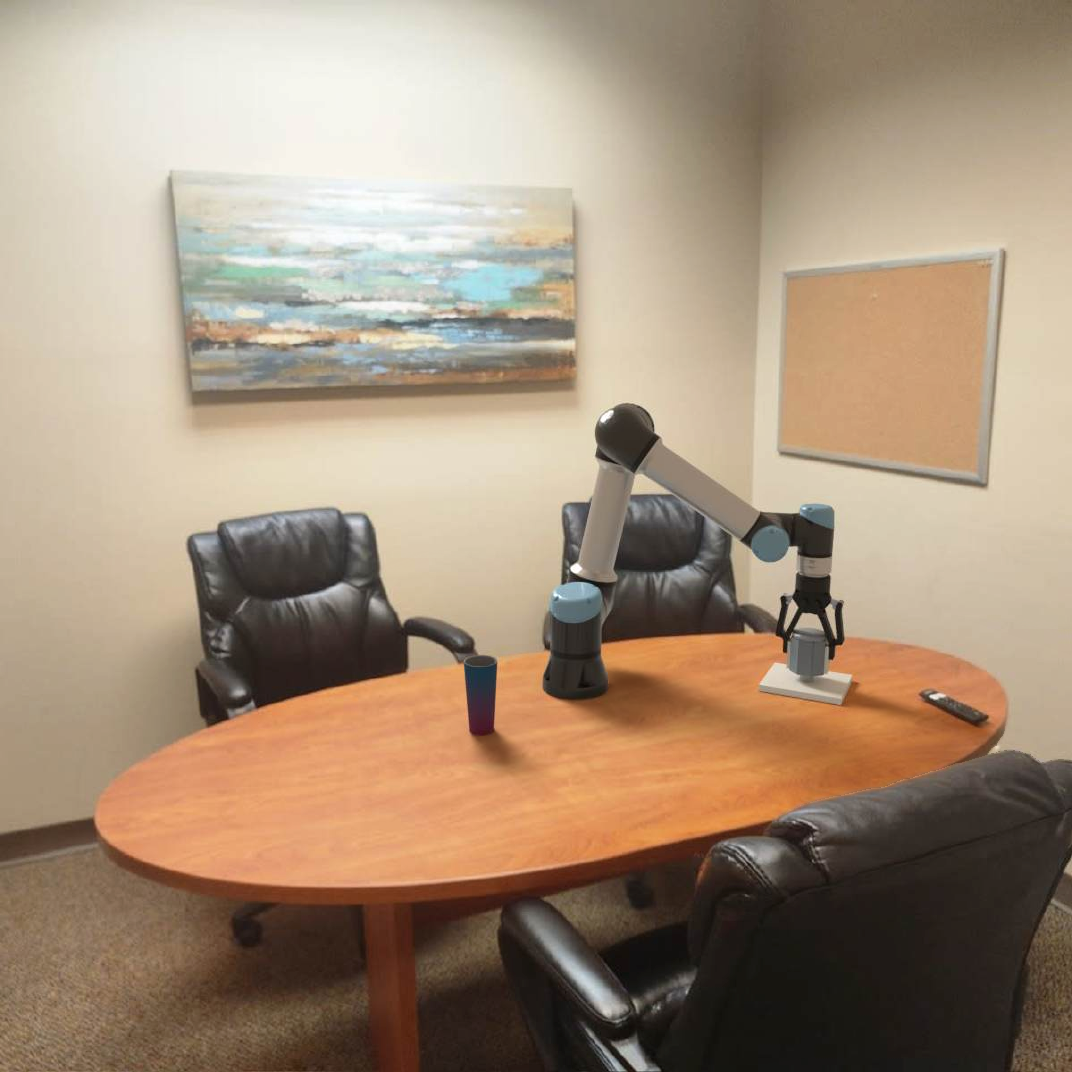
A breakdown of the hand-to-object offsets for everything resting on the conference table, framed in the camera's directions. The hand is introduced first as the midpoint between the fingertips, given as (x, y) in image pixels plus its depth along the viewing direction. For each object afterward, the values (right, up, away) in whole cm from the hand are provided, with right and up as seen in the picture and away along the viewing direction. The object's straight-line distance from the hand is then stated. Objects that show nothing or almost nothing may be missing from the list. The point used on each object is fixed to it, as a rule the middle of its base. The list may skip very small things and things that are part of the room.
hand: (807, 669), depth 203 cm
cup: (-74, -9, -22) cm, 77 cm away
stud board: (0, -4, +1) cm, 4 cm away
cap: (0, 0, 0) cm, 0 cm away
